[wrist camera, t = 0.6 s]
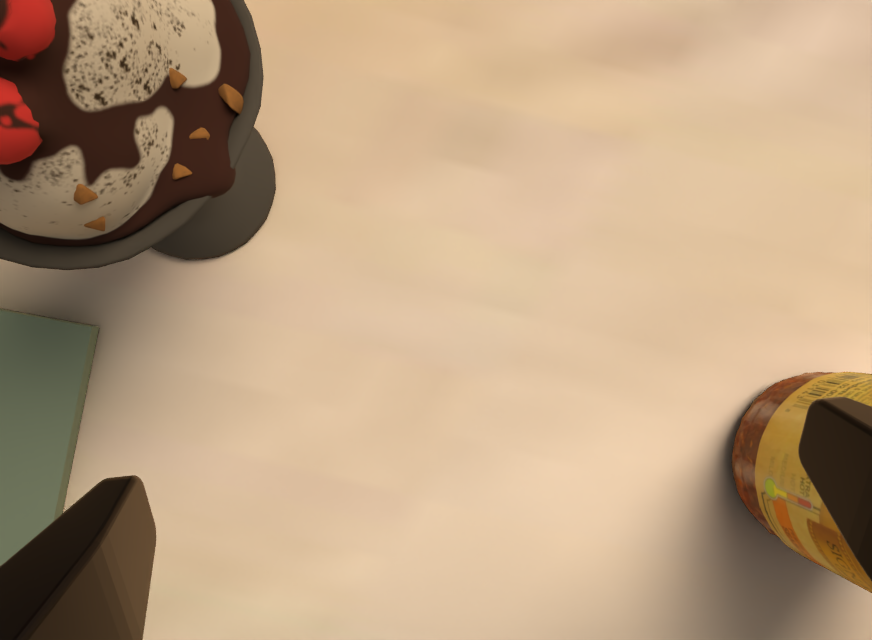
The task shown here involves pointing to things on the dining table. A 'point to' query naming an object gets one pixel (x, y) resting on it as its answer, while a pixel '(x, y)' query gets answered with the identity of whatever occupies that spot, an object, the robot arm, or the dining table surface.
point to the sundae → (129, 130)
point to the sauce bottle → (794, 469)
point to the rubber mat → (38, 419)
